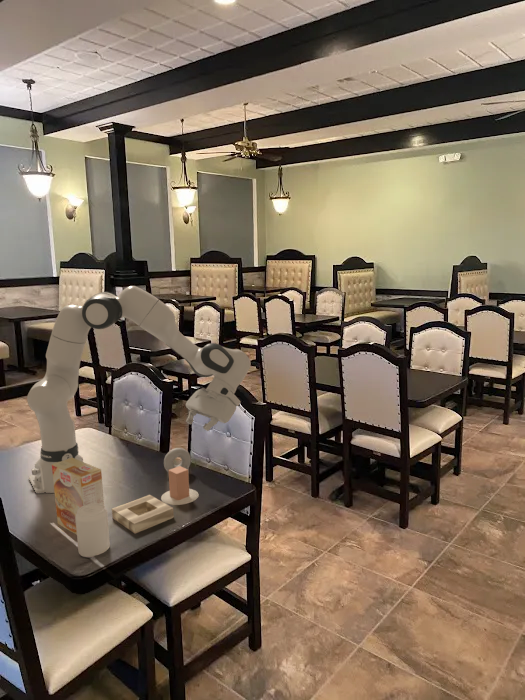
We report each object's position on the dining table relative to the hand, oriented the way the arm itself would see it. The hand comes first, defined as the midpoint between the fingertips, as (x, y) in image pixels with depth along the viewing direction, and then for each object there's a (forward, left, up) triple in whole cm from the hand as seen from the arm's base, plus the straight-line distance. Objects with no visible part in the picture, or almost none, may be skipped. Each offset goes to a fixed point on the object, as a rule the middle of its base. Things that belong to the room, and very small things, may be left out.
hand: (196, 426), depth 177 cm
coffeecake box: (-2, -41, -22) cm, 46 cm away
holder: (+6, -25, -22) cm, 34 cm away
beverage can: (+11, -43, -22) cm, 50 cm away
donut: (-15, +2, -22) cm, 27 cm away
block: (+2, -9, -21) cm, 23 cm away
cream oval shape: (+2, -9, -22) cm, 24 cm away
